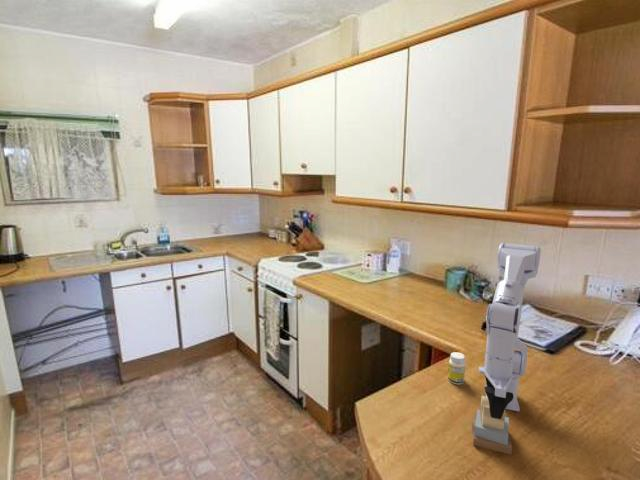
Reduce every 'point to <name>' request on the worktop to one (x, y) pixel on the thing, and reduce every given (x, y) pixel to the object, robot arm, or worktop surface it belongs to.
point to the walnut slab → (490, 442)
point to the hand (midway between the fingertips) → (494, 407)
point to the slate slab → (492, 431)
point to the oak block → (487, 418)
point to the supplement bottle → (456, 368)
